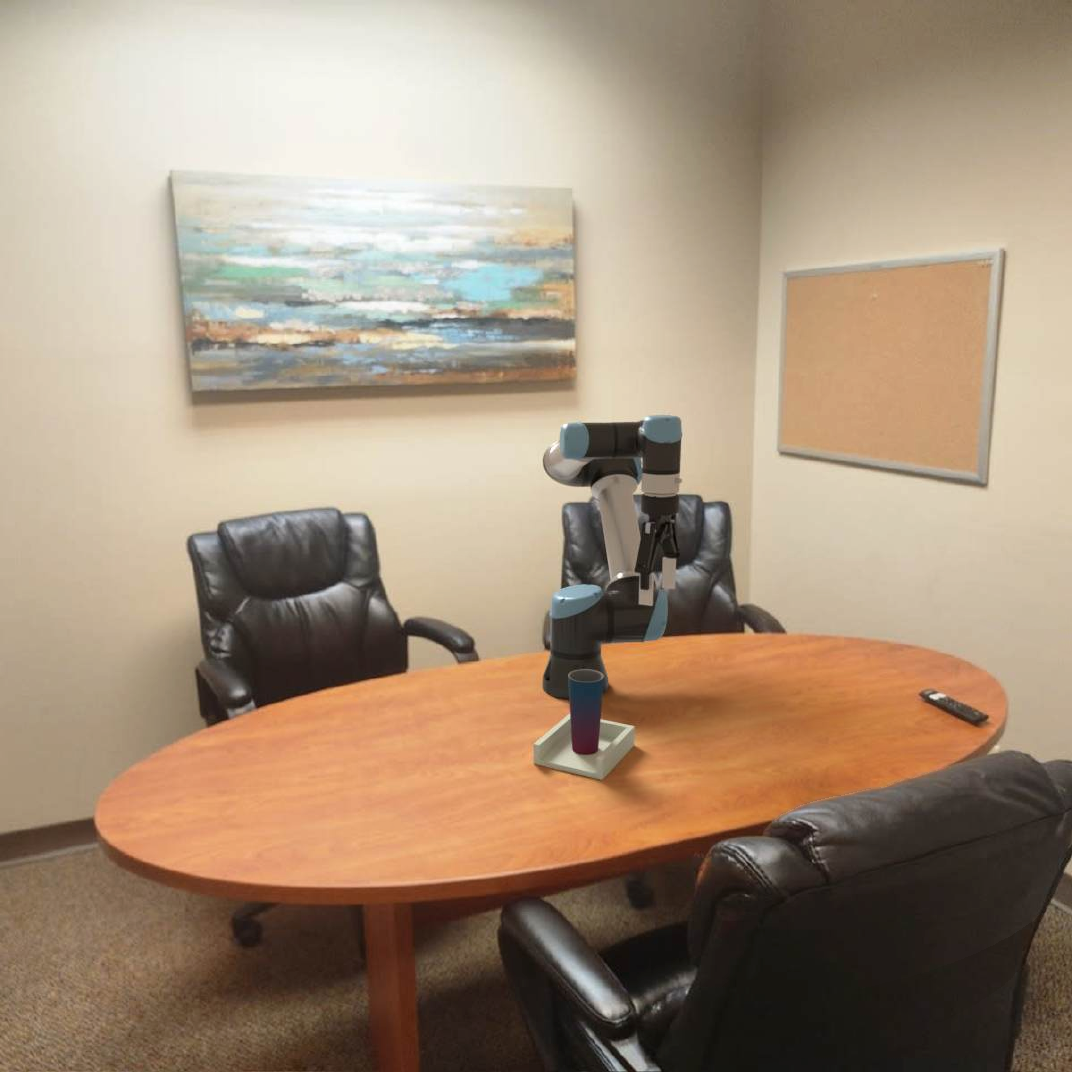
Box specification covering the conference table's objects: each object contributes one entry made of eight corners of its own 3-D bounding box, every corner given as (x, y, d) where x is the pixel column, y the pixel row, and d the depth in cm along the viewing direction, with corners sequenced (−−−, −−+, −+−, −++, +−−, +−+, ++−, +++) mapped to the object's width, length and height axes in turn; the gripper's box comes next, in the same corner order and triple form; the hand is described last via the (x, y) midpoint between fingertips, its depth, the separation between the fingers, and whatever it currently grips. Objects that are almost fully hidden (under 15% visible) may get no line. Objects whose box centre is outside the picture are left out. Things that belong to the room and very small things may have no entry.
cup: (561, 752, 168) (561, 678, 165) (576, 738, 174) (577, 666, 171) (594, 760, 165) (595, 684, 162) (608, 745, 171) (609, 672, 168)
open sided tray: (533, 763, 166) (533, 743, 165) (570, 731, 180) (570, 712, 179) (602, 780, 160) (602, 759, 159) (634, 745, 174) (634, 726, 173)
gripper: (656, 505, 164) (653, 614, 168) (697, 486, 185) (693, 583, 190) (619, 501, 167) (617, 609, 172) (663, 483, 189) (660, 579, 193)
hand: (657, 596), depth 181 cm, fingers open, 13 cm apart
